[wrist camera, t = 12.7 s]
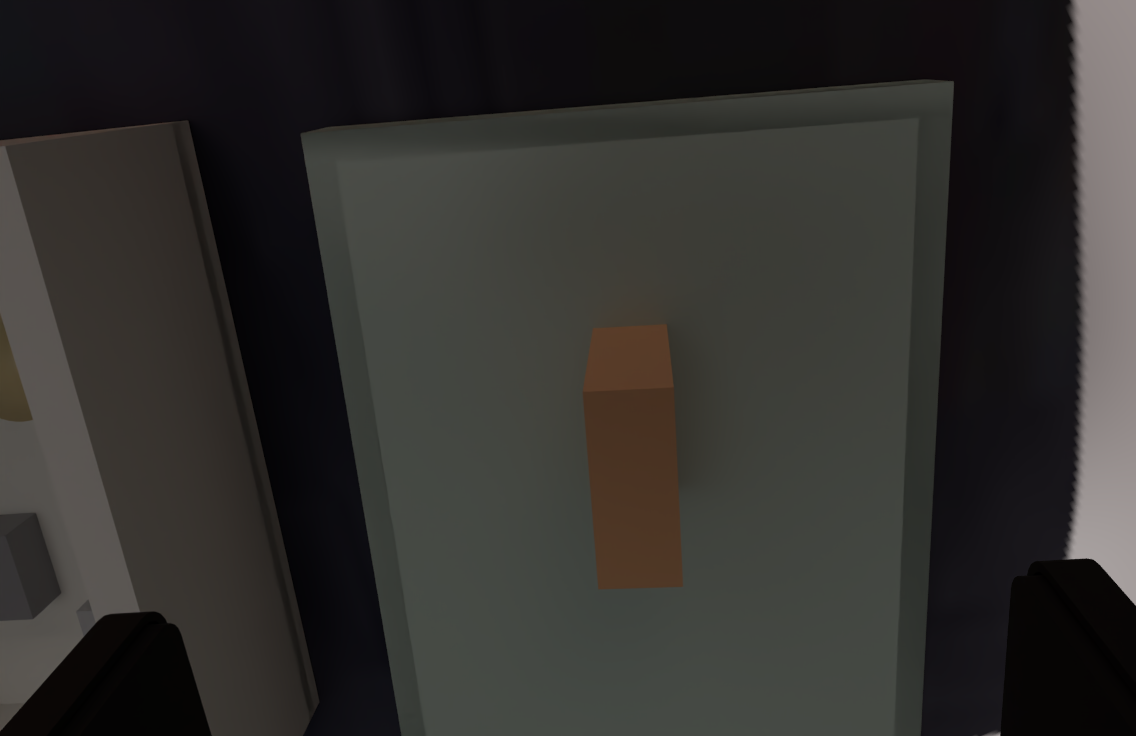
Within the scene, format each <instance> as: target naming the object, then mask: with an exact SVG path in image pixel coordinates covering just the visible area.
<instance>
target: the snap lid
mask: <svg viewBox="0 0 1136 736" xmlns="http://www.w3.org/2000/svg"><path fill="white" fill-rule="evenodd" d="M953 90H954V81H942V80H928V79H923V80H911V81H898V82H886V83H873V84H861V85H848V86H836V87H823V88H811V89H798V90H786V91H773V92H761V93H748V94H736V95H723V96H711V97H698V98H686V99H673V100H661V101H648V102H636V103H623V104H611V105H598V106H586V107H573V108H561V109H548V110H536V111H523V112H511V113H498V114H486V115H473V116H461V117H448V118H436V119H423V120H411V121H399V122H386V123H374V124H361V125H349V126H336V127H327V128H322V129H318V130H314V131H309V132H305V133H300V134H301V140H302V145H303V151H304V157H305V163H306V169H307V175H308V181H309V187H310V193H311V199H312V205H313V211H314V217H315V223H316V229H317V235H318V241H319V247H320V253H321V259H322V265H323V271H324V277H325V282H326V288H327V294H328V300H329V306H330V312H331V318H332V324H333V330H334V336H335V342H336V348H337V354H338V360H339V366H340V372H341V378H342V384H343V390H344V396H345V402H346V408H347V414H348V419H349V425H350V431H351V437H352V443H353V449H354V455H355V461H356V467H357V473H358V479H359V485H360V491H361V497H362V503H363V509H364V515H365V521H366V527H367V533H368V539H369V545H370V551H371V556H372V562H373V568H374V574H375V580H376V586H377V592H378V598H379V604H380V610H381V616H382V622H383V628H384V634H385V640H386V646H387V652H388V658H389V664H390V670H391V676H392V682H393V688H394V693H395V699H396V705H397V711H398V717H399V723H400V729H401V735H402V736H921V718H922V699H923V679H924V660H925V640H926V620H927V601H928V581H929V561H930V542H931V522H932V502H933V483H934V463H935V443H936V424H937V404H938V384H939V365H940V345H941V326H942V306H943V286H944V267H945V247H946V227H947V208H948V188H949V168H950V149H951V129H952V109H953Z"/></svg>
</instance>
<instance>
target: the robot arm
mask: <svg viewBox="0 0 1136 736" xmlns="http://www.w3.org/2000/svg"><path fill="white" fill-rule="evenodd" d="M0 736H212V735H211V731H210V728H209V725H208V721H207V718H206V715H205V711H204V708H203V705H202V701H201V698H200V695H199V691H198V688H197V685H196V681H195V678H194V675H193V671H192V668H191V665H190V661H189V658H188V655H187V651H186V648H185V645H184V642H183V638H182V635H181V632H180V630H179V628H178V627H177V626H176V625H175V624H172V623H167V621H166V619H165V618H164V617H163V616H162V614H161V613H158V612H155V611H150V612H133V613H115V614H108V615H104V616H103V617H102V618H101V619H99V620H98V621H97V622H96V623H95V625H94V626H93V627H92V628H91V629H90V630H89V631H88V632H87V634H86V635H85V636H84V637H83V638H82V639H81V640H80V642H79V643H78V644H77V645H76V646H75V647H74V648H73V649H72V651H71V652H70V653H69V654H68V655H67V656H66V657H65V658H64V660H63V661H62V662H61V663H60V664H59V665H58V666H57V668H56V669H55V670H54V671H53V672H52V673H51V674H50V675H49V677H48V678H47V679H46V680H45V681H44V682H43V683H42V684H41V686H40V687H39V688H38V689H37V690H36V691H35V692H34V694H33V695H32V696H31V697H30V698H29V699H28V700H27V701H26V703H25V704H24V705H23V706H22V707H21V708H20V709H19V711H18V712H17V713H16V714H15V715H14V716H13V717H12V718H11V720H10V721H9V722H8V723H7V724H6V725H5V726H4V727H3V729H2V730H1V731H0ZM1000 736H1136V606H1135V605H1134V603H1133V602H1132V601H1131V600H1130V599H1129V598H1128V597H1127V595H1126V594H1125V593H1124V592H1123V591H1122V590H1121V589H1120V587H1118V585H1117V584H1116V583H1115V582H1114V581H1113V580H1112V578H1111V577H1110V576H1109V575H1108V574H1107V573H1106V572H1105V570H1104V569H1103V568H1102V567H1101V566H1100V565H1099V564H1098V563H1097V562H1096V561H1094V560H1092V559H1070V560H1052V561H1035V562H1034V563H1032V564H1031V566H1030V568H1029V570H1028V574H1027V576H1017V577H1016V578H1014V580H1013V582H1012V587H1011V598H1010V611H1009V625H1008V639H1007V652H1006V666H1005V680H1004V693H1003V707H1002V721H1001V734H1000Z"/></svg>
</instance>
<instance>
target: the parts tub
mask: <svg viewBox="0 0 1136 736" xmlns="http://www.w3.org/2000/svg"><path fill="white" fill-rule="evenodd" d="M150 611H155V612H158V613H161V614H162V616H163V617H164V618H165V619H166V621H167V623H172V624H175V625H176V626H177V627H178V628H179V630H180V632H181V635H182V638H183V642H184V645H185V648H186V651H187V655H188V658H189V661H190V665H191V668H192V671H193V675H194V678H195V681H196V685H197V688H198V691H199V695H200V698H201V701H202V705H203V708H204V711H205V715H206V718H207V721H208V725H209V728H210V731H211V735H212V736H303V734H304V732H305V730H306V728H307V726H308V724H309V722H310V720H311V718H312V716H313V714H314V712H315V710H316V708H317V706H318V704H319V702H320V701H319V697H318V693H317V688H316V684H315V679H314V675H313V670H312V666H311V662H310V657H309V653H308V648H307V644H306V640H305V635H304V631H303V626H302V622H301V617H300V613H299V609H298V604H297V600H296V595H295V591H294V586H293V582H292V578H291V573H290V569H289V564H288V560H287V556H286V551H285V547H284V542H283V538H282V533H281V529H280V525H279V520H278V516H277V511H276V507H275V502H274V498H273V494H272V489H271V485H270V480H269V476H268V471H267V467H266V463H265V458H264V454H263V449H262V445H261V441H260V436H259V432H258V427H257V423H256V418H255V414H254V410H253V405H252V401H251V396H250V392H249V387H248V383H247V379H246V374H245V370H244V365H243V361H242V357H241V352H240V348H239V343H238V339H237V334H236V330H235V326H234V321H233V317H232V312H231V308H230V303H229V299H228V295H227V290H226V286H225V281H224V277H223V273H222V268H221V264H220V259H219V255H218V250H217V246H216V242H215V237H214V233H213V228H212V224H211V219H210V215H209V211H208V206H207V202H206V197H205V193H204V189H203V184H202V180H201V175H200V171H199V166H198V162H197V158H196V153H195V149H194V144H193V140H192V135H191V131H190V127H189V122H188V120H187V121H177V122H168V123H159V124H149V125H140V126H131V127H121V128H112V129H103V130H93V131H84V132H75V133H65V134H56V135H46V136H37V137H28V138H18V139H9V140H0V731H1V730H2V729H3V727H4V726H5V725H6V724H7V723H8V722H9V721H10V720H11V718H12V717H13V716H14V715H15V714H16V713H17V712H18V711H19V709H20V708H21V707H22V706H23V705H24V704H25V703H26V701H27V700H28V699H29V698H30V697H31V696H32V695H33V694H34V692H35V691H36V690H37V689H38V688H39V687H40V686H41V684H42V683H43V682H44V681H45V680H46V679H47V678H48V677H49V675H50V674H51V673H52V672H53V671H54V670H55V669H56V668H57V666H58V665H59V664H60V663H61V662H62V661H63V660H64V658H65V657H66V656H67V655H68V654H69V653H70V652H71V651H72V649H73V648H74V647H75V646H76V645H77V644H78V643H79V642H80V640H81V639H82V638H83V637H84V636H85V635H86V634H87V632H88V631H89V630H90V629H91V628H92V627H93V626H94V625H95V623H96V622H97V621H98V620H99V619H101V618H102V617H103V616H104V615H108V614H115V613H133V612H150Z"/></svg>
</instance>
